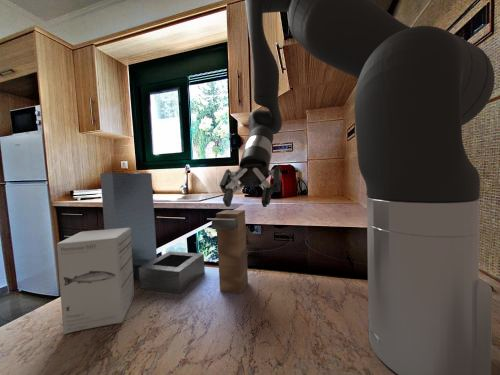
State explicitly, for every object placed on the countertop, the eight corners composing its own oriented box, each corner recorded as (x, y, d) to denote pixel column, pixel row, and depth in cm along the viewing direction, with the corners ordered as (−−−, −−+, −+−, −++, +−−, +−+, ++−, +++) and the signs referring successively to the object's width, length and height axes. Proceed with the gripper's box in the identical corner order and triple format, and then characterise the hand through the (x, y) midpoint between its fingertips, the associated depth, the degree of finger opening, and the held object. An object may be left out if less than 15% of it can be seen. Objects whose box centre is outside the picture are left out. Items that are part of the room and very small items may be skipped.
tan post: (247, 282, 41) (244, 210, 40) (237, 299, 35) (233, 215, 34) (228, 280, 42) (225, 210, 41) (215, 296, 36) (211, 215, 36)
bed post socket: (206, 270, 47) (200, 170, 46) (178, 295, 37) (170, 169, 36) (147, 264, 51) (141, 173, 50) (108, 285, 42) (100, 173, 41)
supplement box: (61, 336, 28) (52, 243, 28) (87, 305, 36) (81, 230, 35) (123, 324, 30) (116, 237, 30) (136, 296, 37) (131, 225, 37)
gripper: (227, 147, 56) (209, 194, 46) (281, 142, 52) (274, 193, 41) (235, 167, 61) (220, 214, 51) (285, 165, 57) (279, 215, 47)
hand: (244, 204), depth 46 cm, fingers open, 8 cm apart
